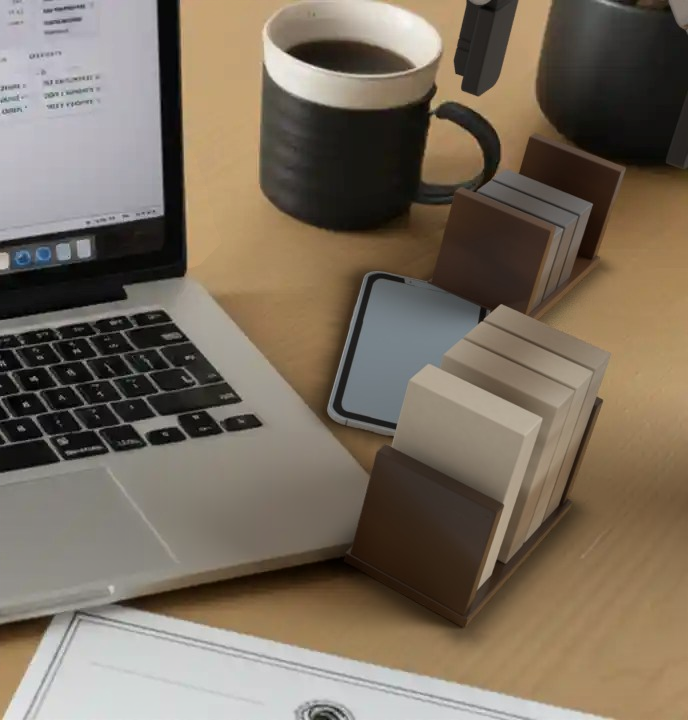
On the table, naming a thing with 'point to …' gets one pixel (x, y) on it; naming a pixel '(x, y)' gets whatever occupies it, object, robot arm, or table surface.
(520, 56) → the table surface
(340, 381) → the smartphone
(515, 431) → the beige rectangular block
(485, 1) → the robot arm
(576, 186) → the brown coaster holder
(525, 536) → the brown book rack
